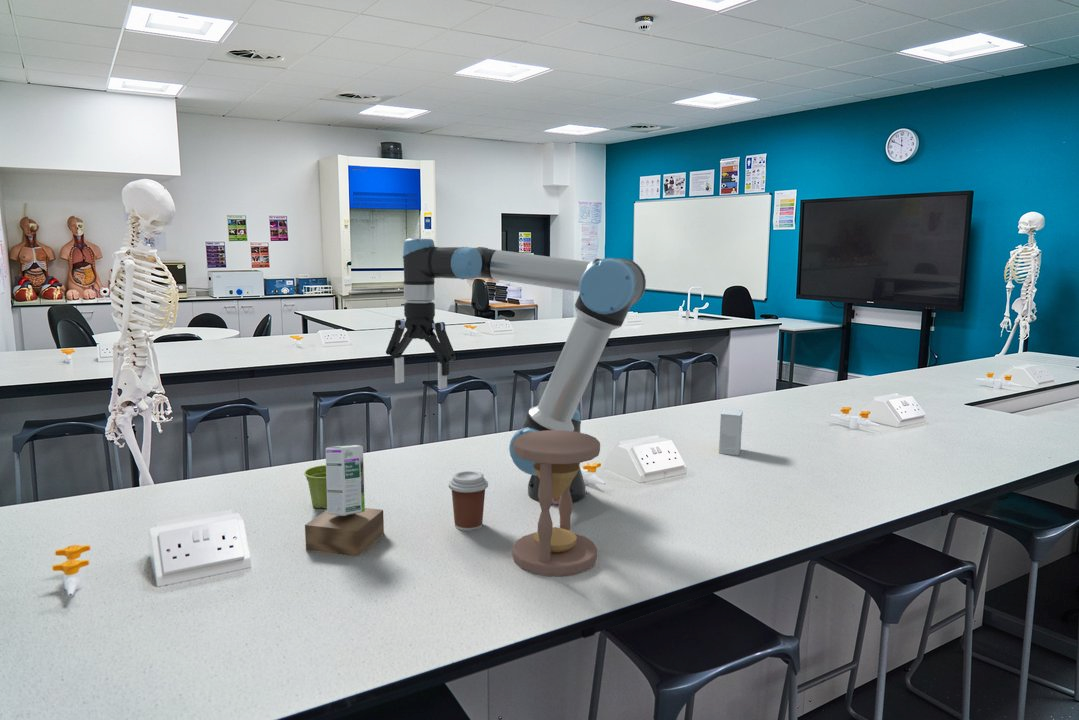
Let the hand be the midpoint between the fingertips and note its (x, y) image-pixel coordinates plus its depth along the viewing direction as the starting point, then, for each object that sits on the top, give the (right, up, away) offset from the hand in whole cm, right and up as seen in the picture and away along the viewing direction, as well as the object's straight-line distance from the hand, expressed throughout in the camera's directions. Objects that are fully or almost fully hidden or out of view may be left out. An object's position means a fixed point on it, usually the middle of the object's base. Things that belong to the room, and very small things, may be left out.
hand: (420, 385), depth 176 cm
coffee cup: (+14, -32, -15) cm, 38 cm away
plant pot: (-23, -30, -4) cm, 38 cm away
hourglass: (+33, -35, -31) cm, 57 cm away
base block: (-12, -33, -25) cm, 43 cm away
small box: (+91, -23, +47) cm, 105 cm away
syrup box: (-12, -27, -26) cm, 39 cm away
